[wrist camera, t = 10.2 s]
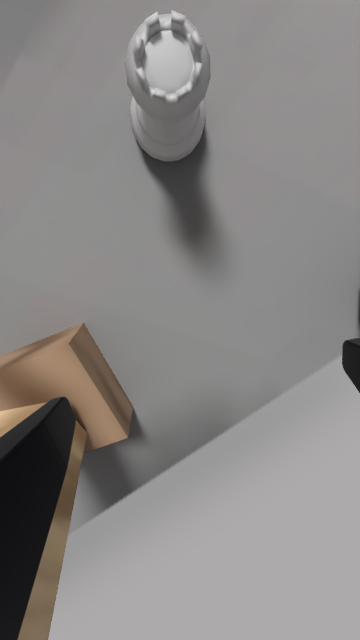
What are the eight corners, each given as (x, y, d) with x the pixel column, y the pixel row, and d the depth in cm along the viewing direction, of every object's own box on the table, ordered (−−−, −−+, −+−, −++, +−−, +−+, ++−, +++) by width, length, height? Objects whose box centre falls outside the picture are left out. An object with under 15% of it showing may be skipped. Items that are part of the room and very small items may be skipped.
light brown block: (84, 320, 22) (68, 343, 19) (133, 404, 26) (128, 437, 22) (-12, 360, 23) (-45, 388, 20) (47, 435, 27) (28, 472, 23)
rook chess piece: (182, 176, 18) (192, 157, 11) (119, 138, 17) (84, 87, 10) (217, 105, 17) (256, 26, 10) (151, 58, 16) (137, -69, 9)
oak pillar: (59, 399, 19) (-42, 735, 9) (86, 433, 21) (33, 713, 12) (-5, 412, 19) (-167, 748, 9) (31, 443, 22) (-64, 724, 12)
